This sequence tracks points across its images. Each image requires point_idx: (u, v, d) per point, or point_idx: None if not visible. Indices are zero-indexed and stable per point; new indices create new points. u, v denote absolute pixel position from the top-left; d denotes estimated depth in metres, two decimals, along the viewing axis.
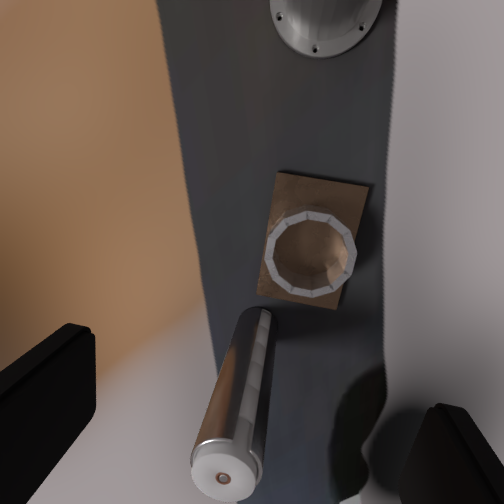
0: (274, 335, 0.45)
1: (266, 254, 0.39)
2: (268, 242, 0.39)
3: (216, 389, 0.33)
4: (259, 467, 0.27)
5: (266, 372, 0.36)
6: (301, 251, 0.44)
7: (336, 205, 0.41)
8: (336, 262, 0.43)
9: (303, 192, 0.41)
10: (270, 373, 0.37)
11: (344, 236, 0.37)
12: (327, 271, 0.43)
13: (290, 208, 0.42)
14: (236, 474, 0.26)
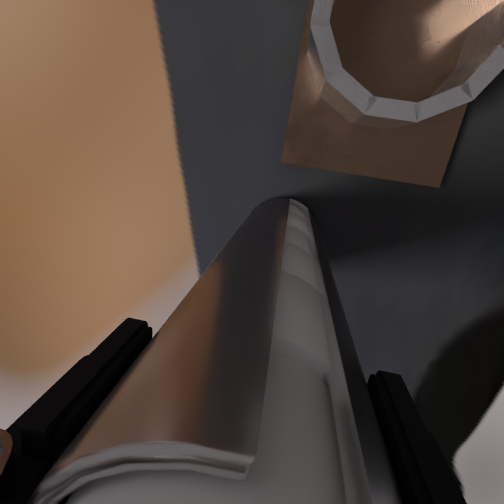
0: None
1: (315, 11, 0.17)
2: None
3: (189, 291, 0.11)
4: None
5: (326, 267, 0.14)
6: (377, 56, 0.21)
7: None
8: (454, 71, 0.20)
9: None
10: (333, 277, 0.15)
11: None
12: (431, 96, 0.21)
13: None
14: None
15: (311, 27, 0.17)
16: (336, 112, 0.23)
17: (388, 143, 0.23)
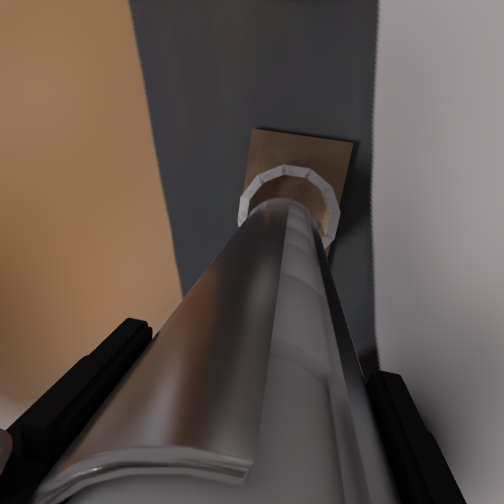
0: (319, 234, 0.22)
1: (239, 216, 0.35)
2: (241, 202, 0.35)
3: (189, 292, 0.11)
4: None
5: (326, 268, 0.14)
6: None
7: (317, 164, 0.37)
8: (320, 229, 0.39)
9: (281, 150, 0.37)
10: (332, 278, 0.15)
11: (325, 193, 0.33)
12: None
13: (268, 169, 0.38)
14: None
15: (238, 223, 0.35)
16: None
17: None
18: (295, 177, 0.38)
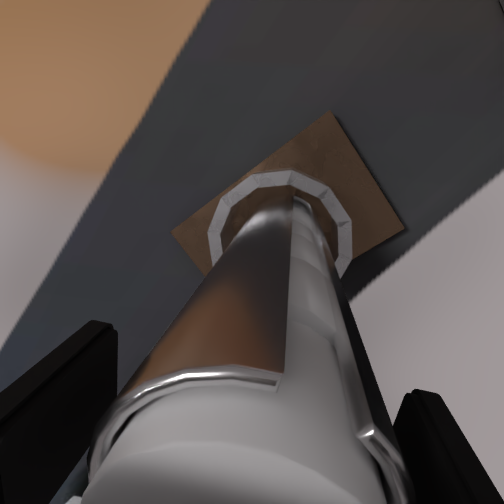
0: (321, 228, 0.24)
1: (228, 194, 0.23)
2: (245, 182, 0.23)
3: (208, 274, 0.12)
4: None
5: (329, 256, 0.15)
6: None
7: (353, 215, 0.27)
8: None
9: (334, 165, 0.26)
10: (335, 266, 0.16)
11: (339, 258, 0.24)
12: None
13: (302, 169, 0.27)
14: None
15: (220, 199, 0.24)
16: None
17: None
18: (320, 205, 0.28)
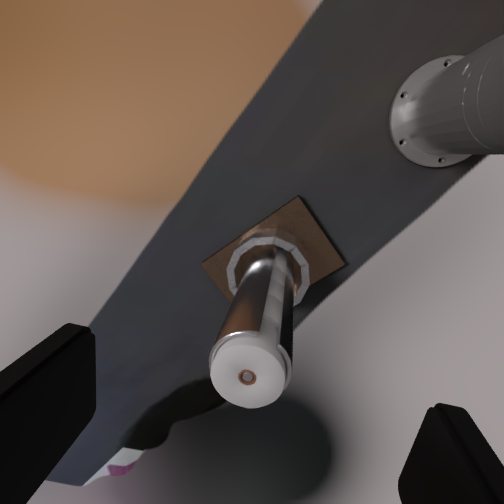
0: (292, 267, 0.41)
1: (239, 248, 0.41)
2: (248, 242, 0.41)
3: (234, 301, 0.30)
4: (289, 365, 0.23)
5: (288, 290, 0.33)
6: None
7: (313, 256, 0.45)
8: None
9: (301, 227, 0.44)
10: (291, 294, 0.34)
11: (302, 285, 0.41)
12: None
13: (282, 229, 0.45)
14: (263, 371, 0.23)
15: (234, 251, 0.41)
16: None
17: None
18: None
